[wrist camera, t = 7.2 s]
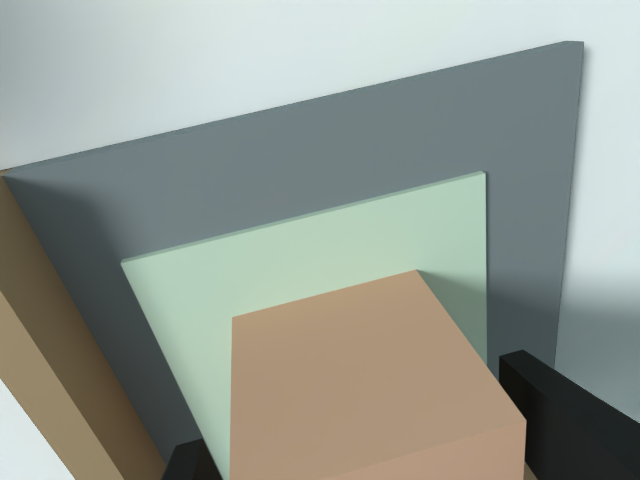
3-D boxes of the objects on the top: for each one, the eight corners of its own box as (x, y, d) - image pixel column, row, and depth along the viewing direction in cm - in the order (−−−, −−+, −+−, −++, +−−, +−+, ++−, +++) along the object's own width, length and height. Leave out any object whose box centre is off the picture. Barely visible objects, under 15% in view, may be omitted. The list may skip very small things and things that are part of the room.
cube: (415, 269, 12) (530, 425, 7) (428, 399, 14) (520, 578, 9) (231, 316, 11) (228, 513, 7) (276, 441, 14) (297, 649, 9)
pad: (484, 414, 15) (487, 419, 15) (230, 487, 14) (230, 493, 14) (481, 170, 11) (485, 173, 11) (122, 259, 10) (120, 263, 10)
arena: (535, 460, 18) (577, 522, 16) (199, 559, 17) (194, 640, 15) (566, 40, 10) (656, 45, 8) (-32, 177, 9) (-114, 224, 7)
